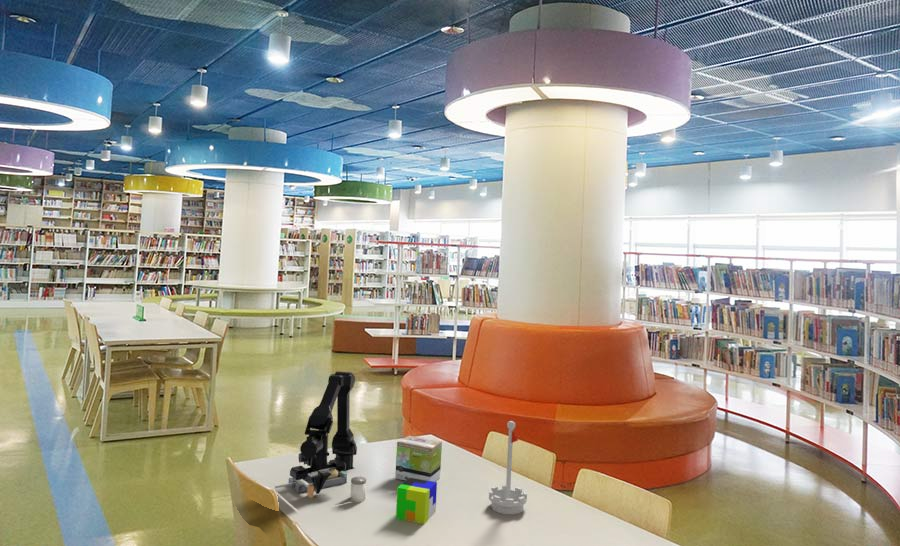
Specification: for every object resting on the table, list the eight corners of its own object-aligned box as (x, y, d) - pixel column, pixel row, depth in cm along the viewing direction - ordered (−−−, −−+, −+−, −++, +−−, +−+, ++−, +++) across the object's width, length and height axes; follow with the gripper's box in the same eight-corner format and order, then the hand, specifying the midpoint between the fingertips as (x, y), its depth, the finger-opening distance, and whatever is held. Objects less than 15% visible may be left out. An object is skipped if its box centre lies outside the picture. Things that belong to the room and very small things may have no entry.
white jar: (360, 495, 205) (361, 475, 205) (368, 500, 201) (369, 480, 201) (347, 498, 202) (348, 478, 202) (354, 503, 198) (355, 483, 198)
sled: (296, 484, 211) (296, 473, 211) (313, 498, 200) (313, 486, 200) (271, 490, 205) (271, 478, 205) (287, 504, 194) (287, 491, 194)
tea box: (394, 479, 222) (396, 441, 221) (406, 471, 231) (407, 434, 231) (430, 487, 216) (432, 447, 216) (440, 478, 225) (442, 440, 225)
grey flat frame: (334, 476, 222) (334, 465, 222) (346, 484, 215) (347, 473, 215) (288, 485, 211) (288, 474, 211) (299, 494, 203) (299, 483, 203)
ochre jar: (333, 476, 220) (334, 461, 220) (341, 481, 215) (341, 465, 215) (318, 479, 216) (318, 463, 216) (325, 485, 211) (326, 468, 211)
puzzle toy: (435, 512, 194) (437, 482, 194) (424, 524, 185) (426, 492, 185) (408, 506, 198) (409, 477, 197) (395, 518, 188) (397, 487, 188)
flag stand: (481, 502, 204) (485, 417, 203) (514, 498, 209) (518, 415, 209) (499, 517, 192) (503, 427, 192) (533, 513, 197) (537, 424, 197)
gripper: (332, 438, 214) (331, 481, 214) (284, 446, 203) (282, 491, 203) (347, 447, 206) (345, 490, 206) (297, 455, 194) (295, 502, 194)
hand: (317, 493), depth 202 cm, fingers closed
